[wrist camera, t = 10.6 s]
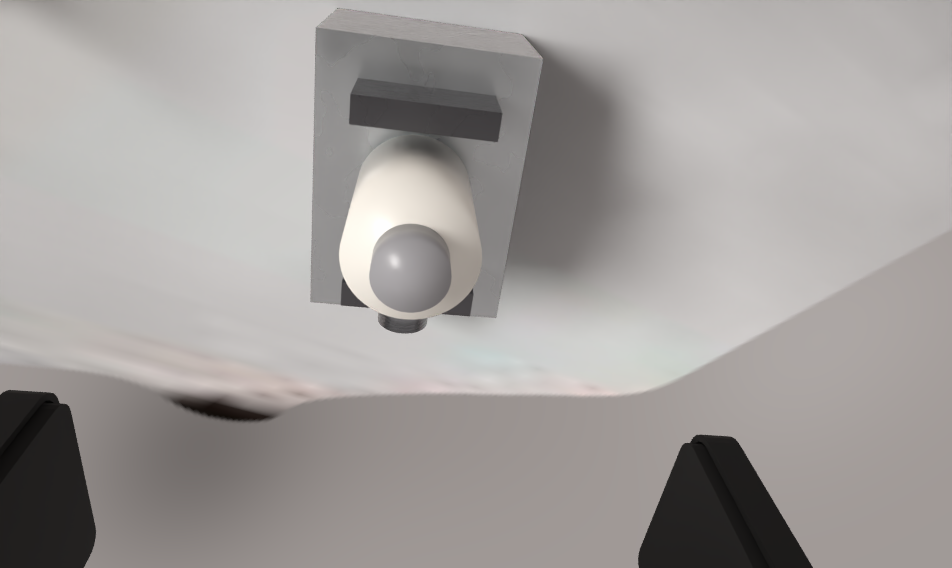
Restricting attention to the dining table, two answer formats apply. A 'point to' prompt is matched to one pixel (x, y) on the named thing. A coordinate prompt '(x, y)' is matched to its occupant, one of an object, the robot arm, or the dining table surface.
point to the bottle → (411, 230)
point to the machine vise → (419, 130)
